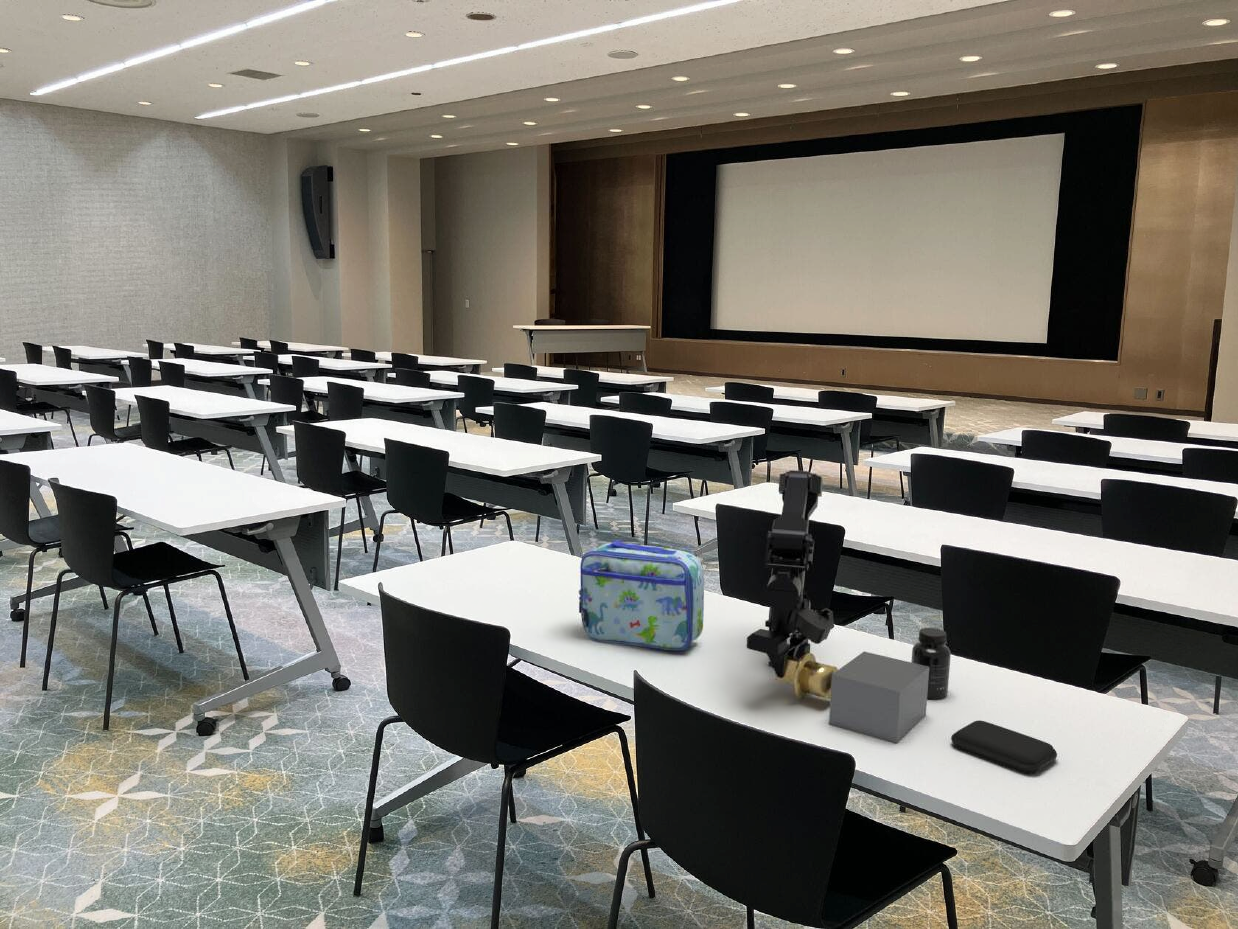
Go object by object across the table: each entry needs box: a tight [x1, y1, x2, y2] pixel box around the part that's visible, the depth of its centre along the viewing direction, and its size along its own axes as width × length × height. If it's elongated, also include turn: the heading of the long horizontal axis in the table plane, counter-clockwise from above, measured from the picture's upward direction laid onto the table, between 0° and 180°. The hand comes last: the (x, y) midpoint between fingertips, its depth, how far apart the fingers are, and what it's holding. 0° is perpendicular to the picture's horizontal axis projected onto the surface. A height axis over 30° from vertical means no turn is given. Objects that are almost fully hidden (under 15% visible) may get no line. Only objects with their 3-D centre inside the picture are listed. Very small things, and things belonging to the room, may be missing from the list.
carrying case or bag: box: [950, 720, 1058, 775], centre depth 159 cm, size 11×3×15 cm
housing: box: [828, 650, 929, 744], centre depth 170 cm, size 12×14×9 cm
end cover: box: [775, 652, 839, 700], centre depth 179 cm, size 11×8×8 cm
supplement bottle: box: [910, 627, 952, 701], centre depth 182 cm, size 7×7×12 cm
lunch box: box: [578, 539, 705, 652], centre depth 206 cm, size 26×11×21 cm, turn 65°
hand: (783, 675), depth 181 cm, fingers closed on end cover, 2 cm apart
